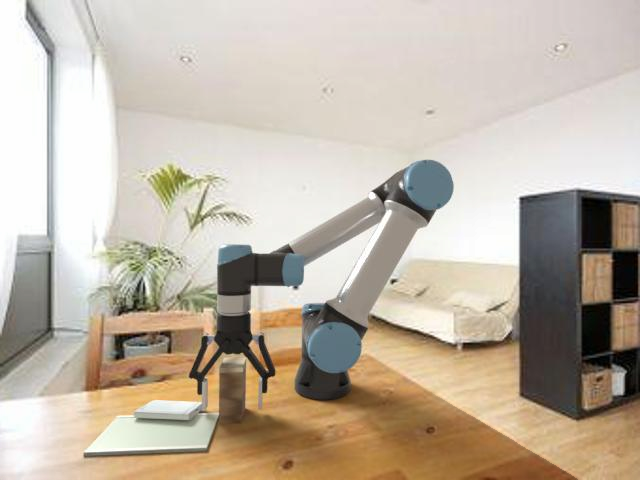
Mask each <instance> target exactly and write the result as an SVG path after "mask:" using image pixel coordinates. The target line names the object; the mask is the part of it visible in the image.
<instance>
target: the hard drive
mask: <svg viewBox="0 0 640 480" xmlns="http://www.w3.org/2000/svg"><path fill="white" fill-rule="evenodd" d="M201 412H202V401H187V400H186V401H182V400H163V399H162V400H161V399H153V400H152V401H149V402H147V403H146V404H144V405H142V406H141V407H139V408H137V409H136V410H134V412H133V415H134V418H150V419H175V420H190V419H191V418H193V417H194V416H195V415H196V414H198V413H201Z"/></svg>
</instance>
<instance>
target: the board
mask: <svg viewBox="0 0 640 480" xmlns="http://www.w3.org/2000/svg"><path fill="white" fill-rule="evenodd" d="M218 421H219V412H204V413H203V412H199V413H198V414H196V415H195V416H194V417H193V418H191V419H190V420H175V419H150V418H134V414H133V415H117V416H115V418H114V419H113V420H112V422H111V423H110V424H109V425H108V426H107V427H106V428H105V429H104V430H103V431H102V432H101V433H100V434H99V435H98V436H97V438H96V439H95V440H93V442H92V443H91V444H90V445H89V446H88V447H87V448H86V449H85V450H84V451H83V457H89V456H90V457H92V456H93V457H95V456H97V457H98V456H115V455H116V456H117V455H118V456H120V455H144V454H146V455H147V454H166V453H167V454H169V453H171V454H172V453H191V452H194V453H195V452H207V450H208V448H209V445H210V442H211V440H212V436H213V434H214V431H215V429H216V426H217V423H218Z"/></svg>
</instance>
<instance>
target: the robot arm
mask: <svg viewBox="0 0 640 480" xmlns="http://www.w3.org/2000/svg"><path fill="white" fill-rule="evenodd" d="M454 188H455V187H454V181H453V177H452V175H451V172H450V171H449V169H448V168H447V167H446V166H445V165H444V164H442V163H441V162H439V161H437V160H435V159H421V160H417V161H414V162H412V163H411V164H410V165H408V166H407V167H405V168H403V169H400V170H398V171H397V172H395V173H394V174H392V175H391V176H390V177H389V178H388V179H386V180H385V181H384V182H383V183H381V184H380V185H379V186H377V187H376V188H374V189H372V190H370V191H369V192H368V194H367V197H366V198H364V199H363V200H361V201H359V202H357V203H356V204H353V205H352V206H350V207H349V208H347V209H345V210H343V211H342V212H340V213H338V214H337V215H335V216H333V217H331V218H330V219H328V220H326V221H325V222H323V223H321V224H319V225H317V226H316V227H315V226H314V228H312V229H311V230H308V231H307V232H305V233H303V234H301V235H300V236H298V237H297V238H294V239H293V240H291V241H290V242H288V243H287V244H285V245H283V246H281V247H279V248H277V249H276V250H272V251H271V252H269V253H256V252H253V249H252V246H251V245H250V244H237V243H236V244H231V243H228V244H222V245H220V246H219V247H218V252H217V253H218V254H217V264H216V267H217V268H216V269H217V270H216V272H217V273H216V275H217V277H216V278H217V279H216V280H217V281H216V282H217V283H216V285H217V286H216V288H217V291H216V292H217V294H216V311H217V312H218V313H217V314H216V333H215V334H209V333H204V335H202V337H201V342H200V343H201V345H200V348H199V351H198V353H197V356H196V358H195V360H194V363H193V364H192V367H191V370H190V372H189V374H188V378H189V379H191V380H192V379H194V380H196V382H197V387H196V389H197V391H196V392H197V395H198V396H201V402H202V410H201V412H206V410H207V408H208V406H209V396H208V395H209V377H207V376H206V375H208V373H209V372H210V370H211V369H212V367H213V366H214V365H215V363H216V362H217V361H218V359H219V358H220V357H221V356H222V354H225V355H228V356H229V355H232V354H233V355H241V354H243V356H244V357H246V360H248V361H249V363H250V365H251V366H252V367H253V368H254V370H255V371H256V372H257V374H258V375H259V377H258V396H257V399H258V401H257V403H258V405H257V407H258V410H262V409H263V394H267V393H268V382H269V381H268V379H270V378H273V377H275V376H276V368H275V365H274V363H273V360H272V357H271V355H270V352H269V350H268V348H267V345H266V343H265V333H263V332H260V333H259V334H253V333H252V331H251V330H252V329H251V328H252V327H251V326H252V325H251V324H252V314H251V313H250V311H251V310H252V287H259V286H260V287H287V288H290V287H299V286H301V285H302V284H303V283H304V279H305V277H304V276H305V267H306V266H307V265H309V264H311V263H312V262H314V261H316V260H318V259H320V258H322V257H323V256H325V255H326V254H328V253H330V252H332V251H333V250H334V249H337V248H339V246H341V245H343V244H345V243H347V242H349V241H351V240H352V239H355V238H356V237H357V236H359V235H360V234H362V233H364V232H366V231H368V230H369V229H371V228H373V227H374V226H376V225H377V226H376V228H375V230H374V232H373V234H371V237H370V238H369V240H368V242H367V243H366V245H365V247H364V248H363V250H362V253H360V255H359V257H358V259H357V260H356V262H355V264H354V266H353V267H352V269H351V271H350V273H349V275H348V276H347V278H346V279H345V282H344V283H343V285H342V287H341V288H340V290H339V292H338V293H337V295H336V297H334V298H331V299H328V300H326V301H325V302H311V303H310V302H308V303H305V304H303V305H302V309H301V310H302V311H301V314H300V315H301V359H300V363H299V365H298V369H297V371H296V375H295V378H294V391H295V392H296V393H297V394H298V395H300V396H302V397H304V398H308V399H312V400H321V401H322V400H323V401H324V400H334V399H335V400H336V399H339V398H342V397H345V396H346V395H348V394H349V393H350V392H351V387H352V386H351V377H350V374H349V371H348V370H350V369H351V368H353V367H354V366H355V365H356V364H357V363H358V361H359V359H360V357H361V355H362V349H363V347H362V346H363V345H362V341H363V339H364V337H365V336H366V334H367V332H368V330H369V328H370V323H369V319H368V316H369V315H370V313H371V311H372V310H373V308H374V306H375V304H376V302H377V301H378V299H379V297H380V296H381V294H382V292H383V290H384V289H385V287H386V286H387V284H388V282H389V280H390V278H391V277H392V275H393V273H394V272H395V269H396V268H397V266H398V264H399V262H400V261H401V259H402V258H403V255H404V254H405V253H406V250H407V249H408V247H409V245H410V243H411V242H412V241H413V239H414V237H415V235H416V233H417V231H418V230H419V229H423V228H427V226H428V225H429V224H430V222H431V220H432V218H433V217H434V215H435V213H436V212H437V210H440V209H442V208H444V207H445V206H446V205H447V204H448V203H449V202H450V200H451V198H452V196H453V194H454ZM213 341H214V342H215V344H217V346H218V348H217V349H216V351H215V352H214V354H213V355H212V356H211V358H210V359H209V361H208V362H207V363H206V364H205V366H204V368H202V370H201V371H199V368H200V367H201V363H202V361H203V359H204V358H205V357H204V356H205V355H206V352H207V350H208V347H209V346H210V345H211V344H212V342H213ZM252 341H254V343H255V344H256V345H258V348H259V351H260V353H261V356H262V358H263V362H264V363H265V366H266V368H265V366H263V364H262V362H261V361H260V360H259V358H258V357H257V356H256V354H255V353H254V352H253V350H252V347H250V344H251V343H252Z"/></svg>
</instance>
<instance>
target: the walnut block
mask: <svg viewBox="0 0 640 480" xmlns="http://www.w3.org/2000/svg"><path fill="white" fill-rule="evenodd" d="M222 359H223V360H222V361H221V364H220V366H219V368H218V373H219V374H218V375H219V376H218V377H219V379H218V386H219V387H218V388H219V389H218V413H219V418H218V424H219V425H220V424H223V425H224V424H243V421H244V416H245V411H246V395H247V394H246V389H247V388H246V382H247V357H245V356H243V357H241V356H239V357H224V358H222Z"/></svg>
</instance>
